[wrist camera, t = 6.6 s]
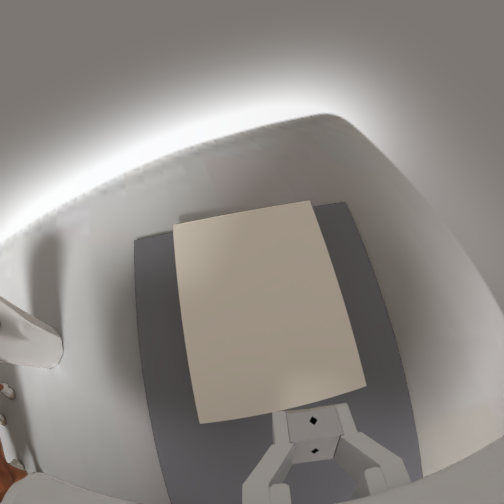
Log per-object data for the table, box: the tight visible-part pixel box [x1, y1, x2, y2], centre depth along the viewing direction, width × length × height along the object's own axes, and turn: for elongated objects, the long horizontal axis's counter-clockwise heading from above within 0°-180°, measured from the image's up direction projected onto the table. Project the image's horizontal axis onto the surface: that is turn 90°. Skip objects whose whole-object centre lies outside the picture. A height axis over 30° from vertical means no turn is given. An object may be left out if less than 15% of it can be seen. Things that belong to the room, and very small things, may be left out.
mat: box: [134, 202, 423, 504], centre depth 16 cm, size 22×16×1 cm
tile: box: [173, 200, 366, 424], centre depth 17 cm, size 2×9×12 cm
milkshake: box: [0, 295, 63, 369], centre depth 12 cm, size 4×5×10 cm
